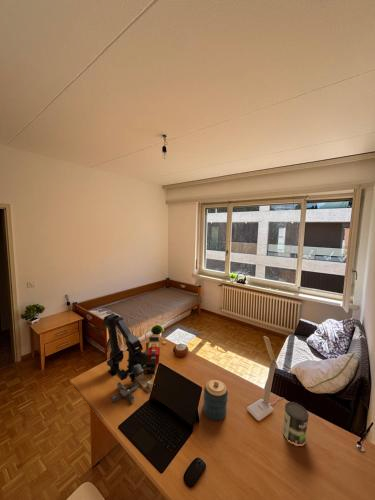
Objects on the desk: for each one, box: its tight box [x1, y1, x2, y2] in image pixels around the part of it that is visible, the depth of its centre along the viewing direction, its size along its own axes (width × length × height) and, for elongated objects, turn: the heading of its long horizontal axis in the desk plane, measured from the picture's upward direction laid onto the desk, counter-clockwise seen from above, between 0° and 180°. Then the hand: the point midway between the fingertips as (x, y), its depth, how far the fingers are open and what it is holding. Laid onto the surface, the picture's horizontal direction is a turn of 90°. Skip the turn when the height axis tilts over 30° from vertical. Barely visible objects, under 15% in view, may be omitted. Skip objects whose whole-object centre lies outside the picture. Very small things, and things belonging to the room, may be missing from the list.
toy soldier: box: [143, 336, 161, 377], centre depth 152 cm, size 14×12×30 cm
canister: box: [202, 379, 229, 422], centre depth 114 cm, size 13×13×18 cm
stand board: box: [134, 373, 154, 394], centre depth 132 cm, size 16×6×4 cm, turn 47°
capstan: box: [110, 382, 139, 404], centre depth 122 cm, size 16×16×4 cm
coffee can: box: [282, 401, 310, 444], centre depth 102 cm, size 10×10×14 cm
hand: (132, 381), depth 132 cm, fingers closed
